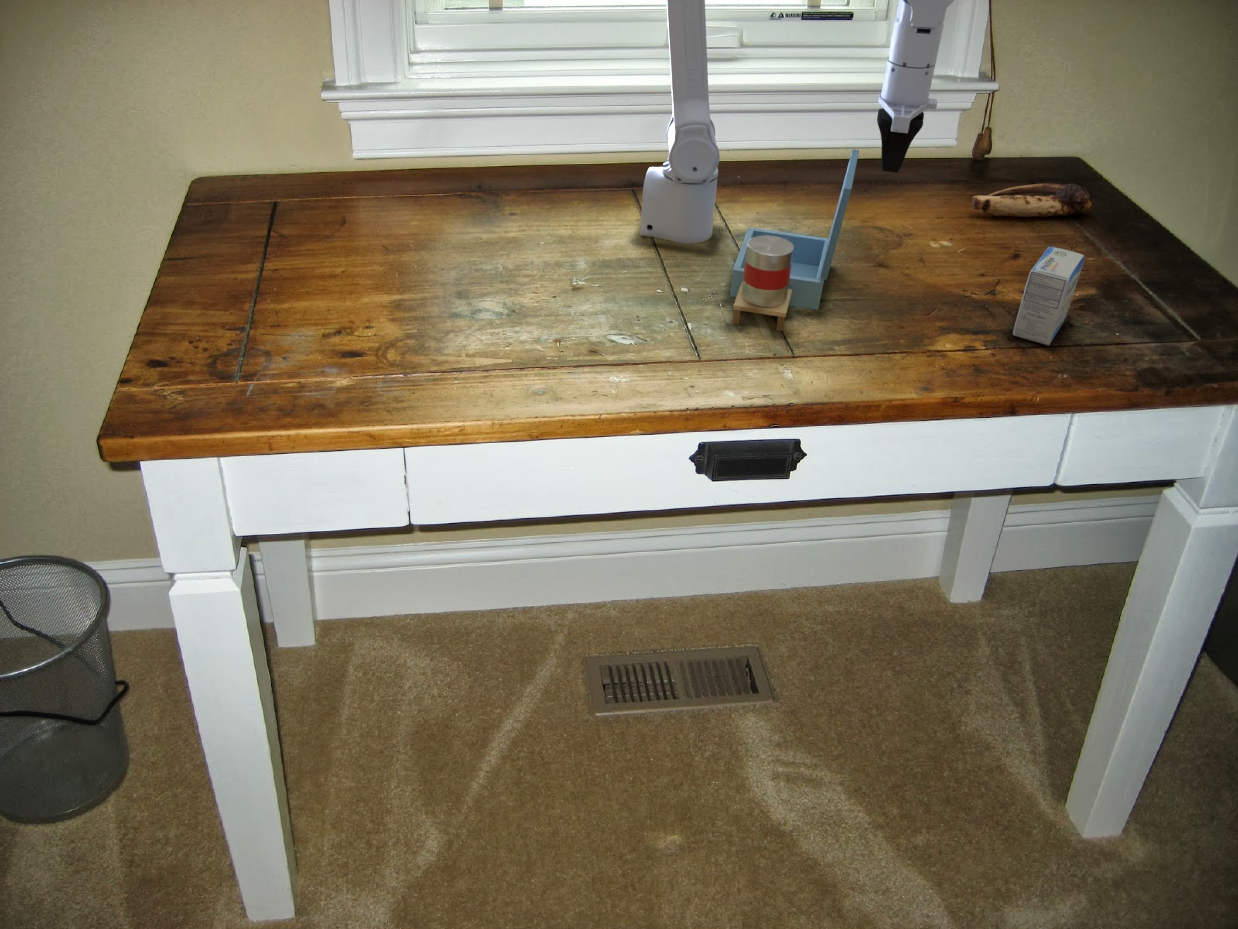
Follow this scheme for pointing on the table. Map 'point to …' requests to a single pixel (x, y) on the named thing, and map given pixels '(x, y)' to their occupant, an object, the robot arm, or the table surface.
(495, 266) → the table surface
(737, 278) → the cooler
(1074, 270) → the medicine box
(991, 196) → the lashed bone hook
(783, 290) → the can
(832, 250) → the lid
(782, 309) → the stool
